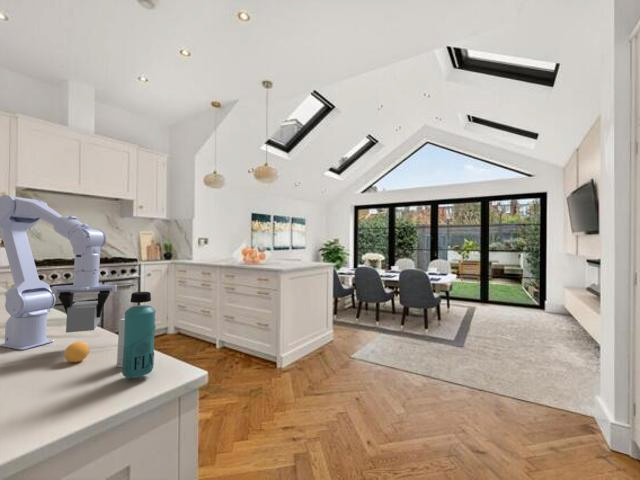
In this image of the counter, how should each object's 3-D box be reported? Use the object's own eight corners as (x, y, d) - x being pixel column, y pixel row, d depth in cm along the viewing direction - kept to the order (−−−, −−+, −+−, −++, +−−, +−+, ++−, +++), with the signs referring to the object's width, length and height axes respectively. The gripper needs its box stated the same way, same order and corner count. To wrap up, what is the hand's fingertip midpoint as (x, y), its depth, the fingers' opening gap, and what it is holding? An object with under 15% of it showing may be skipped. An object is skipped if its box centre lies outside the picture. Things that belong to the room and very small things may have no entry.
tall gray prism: (74, 323, 89) (76, 301, 89) (99, 321, 92) (100, 300, 92) (65, 332, 80) (67, 308, 80) (93, 330, 83) (94, 306, 83)
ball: (60, 343, 77) (58, 364, 75) (76, 340, 76) (74, 361, 74) (79, 342, 81) (77, 362, 80) (94, 340, 81) (93, 359, 79)
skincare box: (130, 369, 74) (132, 320, 75) (116, 367, 75) (118, 319, 75) (149, 360, 80) (151, 315, 81) (135, 358, 81) (137, 314, 81)
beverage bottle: (129, 387, 65) (134, 295, 66) (115, 379, 69) (119, 292, 69) (159, 376, 71) (163, 292, 71) (144, 369, 74) (147, 289, 75)
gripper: (49, 272, 79) (46, 323, 79) (115, 271, 86) (113, 318, 86) (57, 269, 85) (54, 317, 85) (118, 269, 92) (116, 313, 92)
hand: (84, 317), depth 86 cm, fingers closed on tall gray prism, 6 cm apart
